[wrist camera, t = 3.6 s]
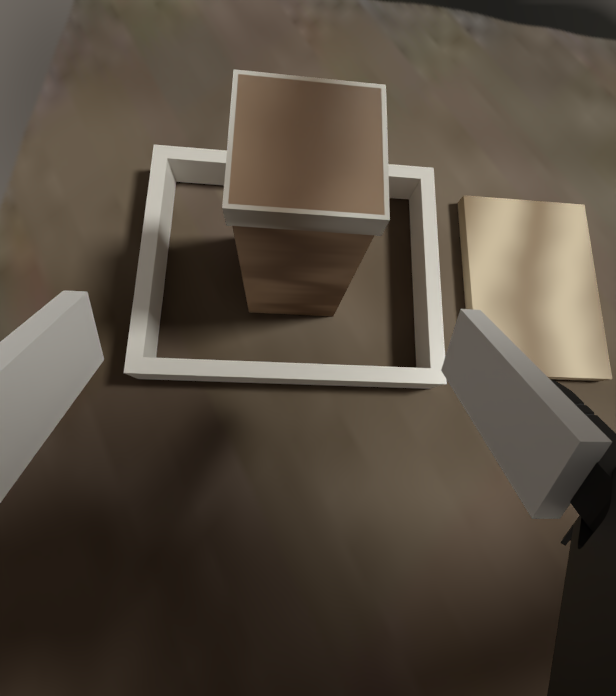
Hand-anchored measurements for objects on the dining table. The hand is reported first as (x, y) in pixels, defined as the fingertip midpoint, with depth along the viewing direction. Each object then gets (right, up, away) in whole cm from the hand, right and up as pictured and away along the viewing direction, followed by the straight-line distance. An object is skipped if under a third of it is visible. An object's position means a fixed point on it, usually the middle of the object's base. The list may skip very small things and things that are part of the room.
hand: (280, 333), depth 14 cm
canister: (0, +5, +14) cm, 15 cm away
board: (+18, +4, +15) cm, 24 cm away
